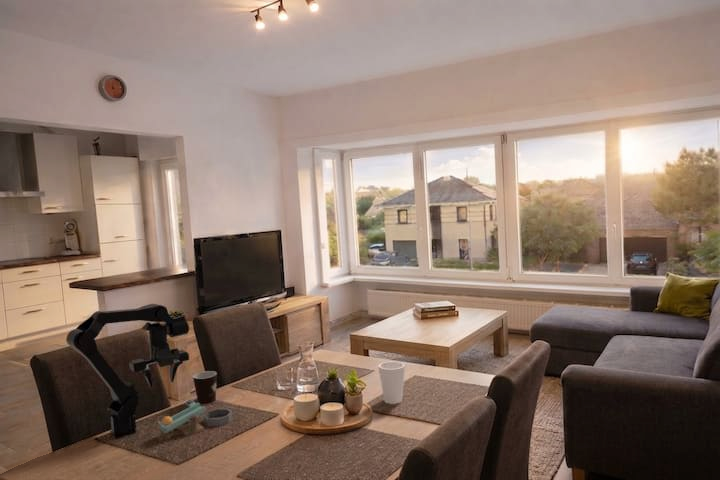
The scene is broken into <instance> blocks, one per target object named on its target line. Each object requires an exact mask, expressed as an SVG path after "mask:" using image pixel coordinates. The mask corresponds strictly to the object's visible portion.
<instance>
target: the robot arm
mask: <svg viewBox="0 0 720 480" xmlns="http://www.w3.org/2000/svg"><path fill="white" fill-rule="evenodd" d="M139 321H142V322H143V321H144V322H146V323H145V324H144V325H143V326H141V330H144V331H148V337H149V343H148V347H149V352H150V354H149V358H150V359H146V360H144V359H143V358H138V359H132V360H130V362H129V364H128V365H129V370H130V371H132V372H133V373H137V372H140V373H142V375H143V376H144V378H145V380H146V382H147V383H148V386H149V387H150V389H151V388H152V389H153V381H152V375H151V369H150V368H149V366H153V365H157V364H158V366H159V367H160V368H164V367H166V366H169V379H170V382H171V383H174V380H175V377H176V373H177V371H178V368H179V366H180V365H182V364H184V362H185V361H190V354H189V353H188V352H187V351H185V350H184V349H179V348H173V349H170V346H169V345H170V343H168V336H169V337H170V338H175V337H179V336H184V335H188V334H189V331H190V325H189V323H188V321H187V319H186V316H185V315H179V316H175V317H172V316H171V315H170V314H169V311H168V309H167V307H166V306H165V305H162V304H157V303H150V304H146V305H143V306H140V307H137V308H131V309H116V310H103V311H102V310H97V311H95V312H93V313H92V314H91V315H90V316H89V317H88V318H87V319H86V320H84V321H83V322H81V323H80V324H79V325H78V326H77V327H76V328H74V329H71V330H70V331H69V332H68V334H67V335H66V339H65V341H66V344H67V345H68V346H69V347H71V348H72V349H73V350H75V352H77V353H79V354H80V355H81V356H83V357H84V358H85V359H86V361H87V362H88V364H89V365H90V366H91V367H92V368H93V370H94V371H95V372H96V374H98V376H99V378H100V379H101V380H102V381H103V382H104V384H105V385H106V386H107V388H108V389H109V391H110V396H111V398H112V401H111V402H110V404H109V405H108V406H107V408H106V409H107V411H108V413H109V414H111V415H110V424H111V425H110V426H111V430H110V434H111V435H112V436H113V437H114V438H115V439H118V438H121V437H124V436H127V435H131V434H134V433H137V430H136V428H137V422H136V415H135V413H136V410H137V406H138V405H139V403H140V400H141V399H140V396H139V394H140V392H139V391H137V390H136V388H135V386H134V384H132V383H131V382H128V381H125V380H124V381H122V379H120V377H119V375H117V373H116V371H115V370H114V369H113V368H112V367H111V366H110V364H109V363H108V361H106V359H105V358H104V356H103V355H102V354H101V353H100V351H99V349H98V348H99V347H98V343H97V342H96V338H97V337H98V336H99V335H100V333H101V331H102V330H103V328H104V326H106V325H107V324H117V323H125V322H126V323H127V322H139ZM151 322H152V323H151Z"/></svg>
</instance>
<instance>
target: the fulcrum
mask: <svg viewBox="0 0 720 480" xmlns="http://www.w3.org/2000/svg"><path fill="white" fill-rule="evenodd" d="M175 429H176V430H175V431H172V432H170V431H169V432H167V433H164V432H163V431H162V430H161V429H160V435H159V436H157V438H158V439H159V441H162V440H164V441H167V440H170V439H171V438H172V437H175V436H178V435H182V434H183V436H184V437H189V436H191V435H192V436H193V435H195V434H199V433H201V432H204V430H205V427H203V426H202V425H201V424H200V423H198V422H197V416H196V417H195V416H193V417H190V420H189V421H187V422H185V423H184V424H182V425H180V426H178V427H176V428H175Z"/></svg>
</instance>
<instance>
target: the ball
mask: <svg viewBox="0 0 720 480" xmlns="http://www.w3.org/2000/svg"><path fill="white" fill-rule="evenodd" d="M171 417H172V416H169V415H167V416H164V417H163V418H162V420H161V422H162V424H164V425H165V427H166V426H168V425H170V424H172V422H173V420H172V418H171Z"/></svg>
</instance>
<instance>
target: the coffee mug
mask: <svg viewBox="0 0 720 480" xmlns="http://www.w3.org/2000/svg"><path fill="white" fill-rule="evenodd" d="M217 375H218V373H217V371H214V370H207V371H200V372H197V373H194V374H193V376H192V379H193V383H194V384H193V385H194V389H195V394H196V399H197V403H198V402H199V403H200V405H209V404H212V403H214V402H216V399H217V397H216V395H217V382H218V381H217V377H218V376H217Z"/></svg>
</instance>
